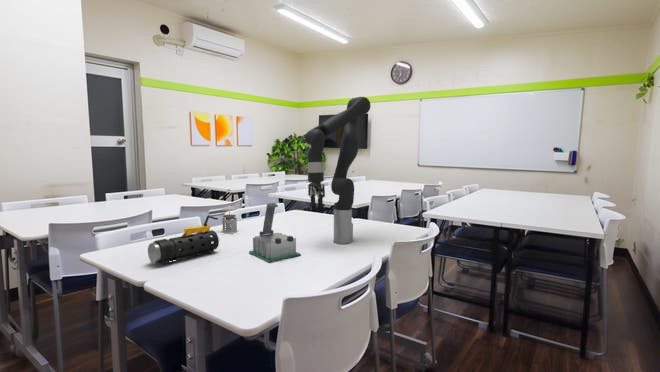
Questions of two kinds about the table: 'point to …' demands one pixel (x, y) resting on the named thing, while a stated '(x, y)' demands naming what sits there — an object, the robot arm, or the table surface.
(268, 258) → the board
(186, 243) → the muzzle brake
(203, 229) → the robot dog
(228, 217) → the french press
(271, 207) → the grey lever
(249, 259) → the table surface
